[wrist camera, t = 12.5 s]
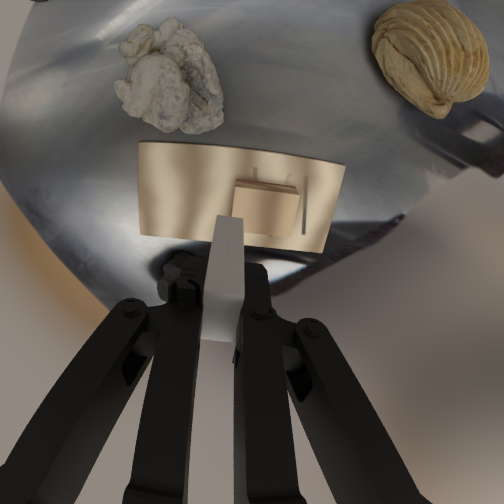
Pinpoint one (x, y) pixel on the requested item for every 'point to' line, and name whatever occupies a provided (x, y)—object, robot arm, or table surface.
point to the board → (230, 191)
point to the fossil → (431, 54)
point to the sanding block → (265, 207)
